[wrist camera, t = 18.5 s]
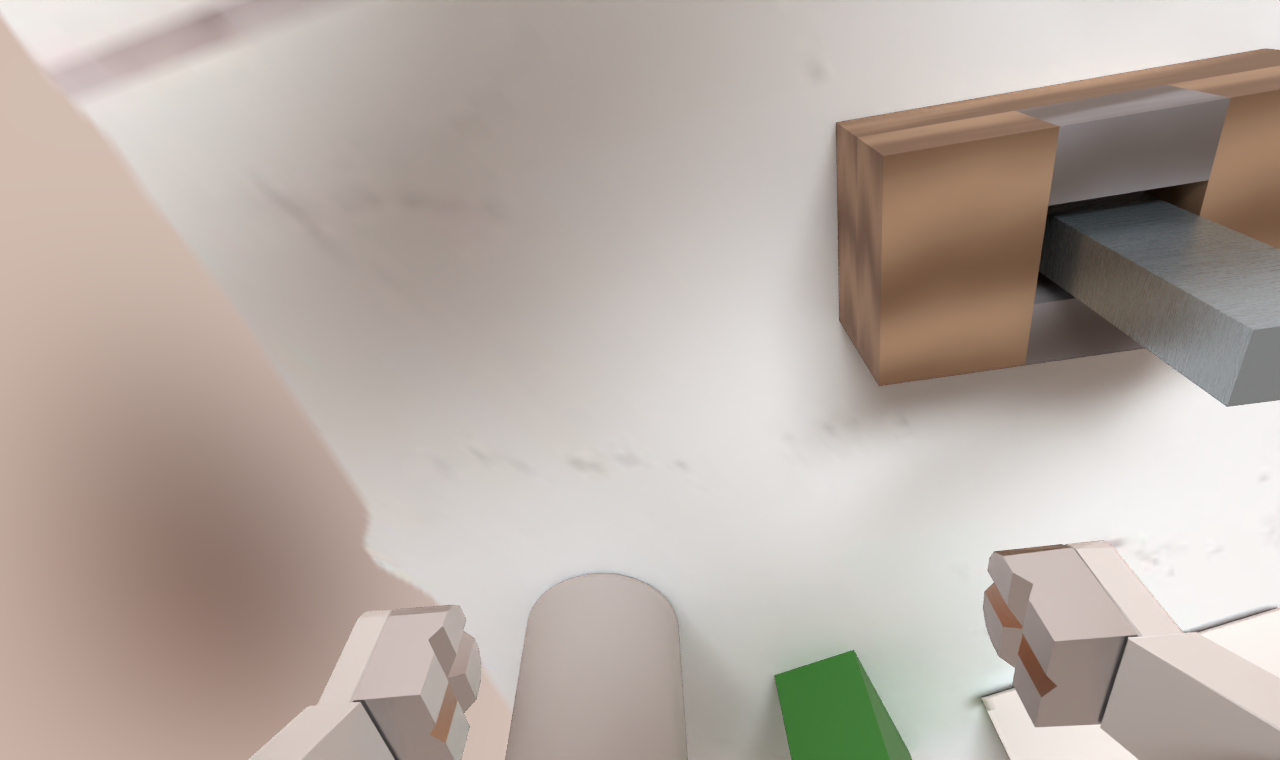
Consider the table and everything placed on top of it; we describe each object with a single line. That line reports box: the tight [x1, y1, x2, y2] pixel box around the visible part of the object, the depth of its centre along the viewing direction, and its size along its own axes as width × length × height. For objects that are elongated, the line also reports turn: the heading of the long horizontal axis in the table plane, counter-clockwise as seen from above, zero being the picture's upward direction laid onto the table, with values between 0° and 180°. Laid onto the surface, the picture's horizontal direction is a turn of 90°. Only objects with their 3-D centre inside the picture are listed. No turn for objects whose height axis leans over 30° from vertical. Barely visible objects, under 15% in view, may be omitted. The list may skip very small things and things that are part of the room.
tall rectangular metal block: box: [1039, 191, 1280, 407], centre depth 29 cm, size 3×5×15 cm, turn 99°
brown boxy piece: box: [836, 49, 1280, 386], centre depth 35 cm, size 12×22×8 cm, turn 99°
